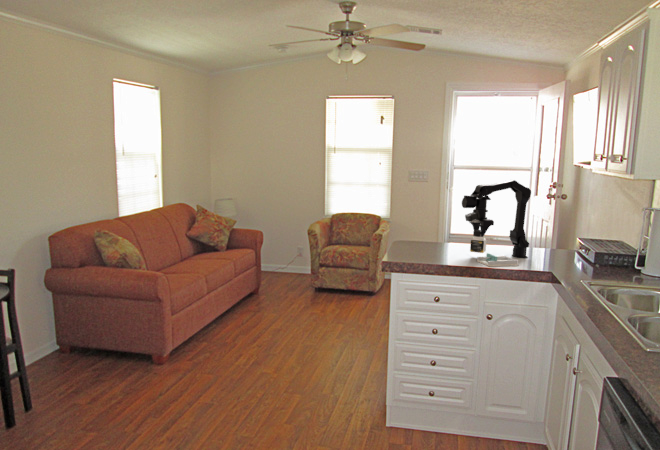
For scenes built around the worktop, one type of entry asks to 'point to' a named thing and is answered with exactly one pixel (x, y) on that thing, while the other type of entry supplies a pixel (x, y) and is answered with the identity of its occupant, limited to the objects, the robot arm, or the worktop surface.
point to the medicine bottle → (478, 242)
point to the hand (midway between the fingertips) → (478, 235)
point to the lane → (499, 261)
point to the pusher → (489, 257)
